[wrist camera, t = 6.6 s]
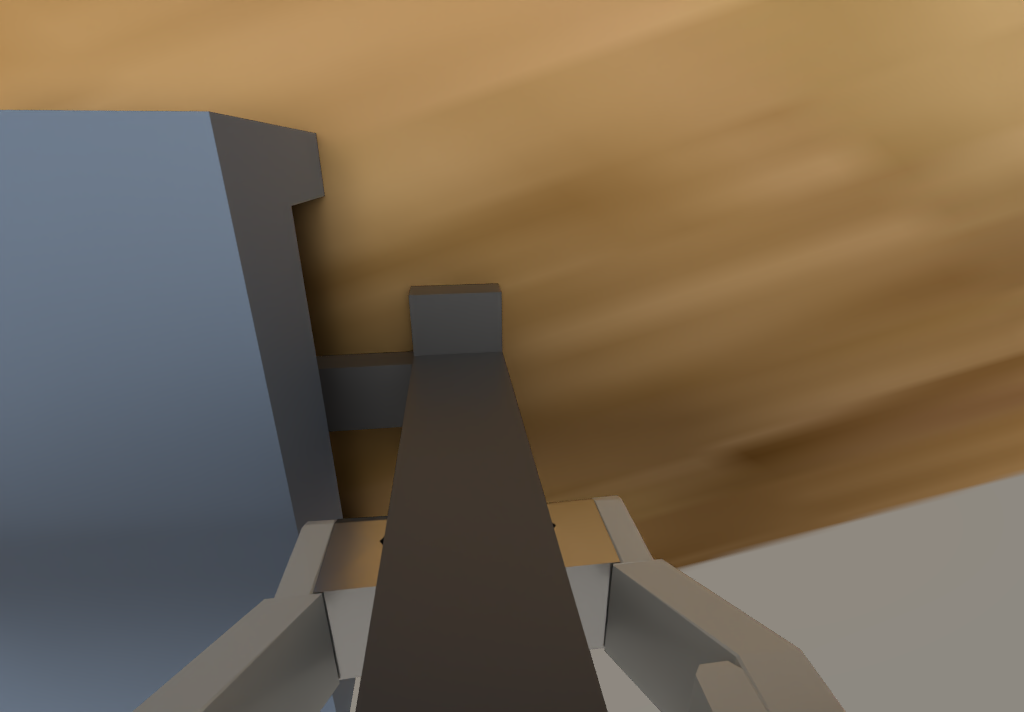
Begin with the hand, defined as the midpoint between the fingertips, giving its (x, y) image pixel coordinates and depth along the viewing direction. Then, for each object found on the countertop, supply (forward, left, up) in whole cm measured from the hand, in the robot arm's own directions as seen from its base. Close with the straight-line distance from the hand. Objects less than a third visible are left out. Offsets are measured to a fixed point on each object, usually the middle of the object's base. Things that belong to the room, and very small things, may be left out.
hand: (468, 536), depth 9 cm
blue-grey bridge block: (+7, 0, -7) cm, 10 cm away
